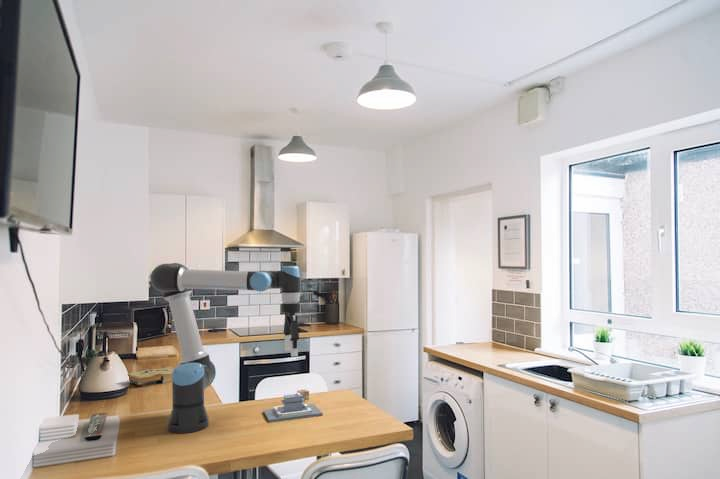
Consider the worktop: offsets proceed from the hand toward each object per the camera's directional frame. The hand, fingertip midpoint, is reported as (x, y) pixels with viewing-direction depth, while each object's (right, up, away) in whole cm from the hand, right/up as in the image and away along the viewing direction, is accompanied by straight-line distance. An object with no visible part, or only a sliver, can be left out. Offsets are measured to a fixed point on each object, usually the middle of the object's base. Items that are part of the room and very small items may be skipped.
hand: (291, 353), depth 207 cm
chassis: (+1, -25, -1) cm, 25 cm away
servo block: (+1, -24, -1) cm, 24 cm away
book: (-81, -29, +58) cm, 104 cm away
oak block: (+3, -26, +19) cm, 32 cm away
